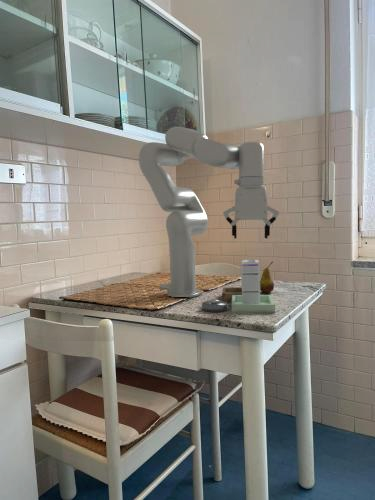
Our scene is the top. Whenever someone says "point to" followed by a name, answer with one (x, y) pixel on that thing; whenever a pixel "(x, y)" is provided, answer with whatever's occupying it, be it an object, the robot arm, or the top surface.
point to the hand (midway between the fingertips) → (250, 238)
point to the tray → (253, 305)
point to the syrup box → (250, 282)
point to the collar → (230, 293)
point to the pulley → (214, 306)
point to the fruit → (266, 281)
